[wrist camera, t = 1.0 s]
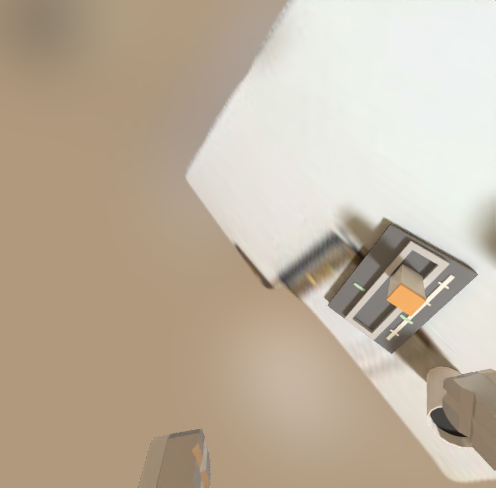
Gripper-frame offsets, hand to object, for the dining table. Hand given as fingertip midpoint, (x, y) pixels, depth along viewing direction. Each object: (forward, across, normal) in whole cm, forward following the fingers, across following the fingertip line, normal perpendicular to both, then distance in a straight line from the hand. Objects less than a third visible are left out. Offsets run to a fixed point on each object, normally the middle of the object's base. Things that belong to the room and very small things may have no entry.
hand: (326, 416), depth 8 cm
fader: (+31, -26, +12) cm, 42 cm away
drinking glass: (+28, -31, +32) cm, 52 cm away
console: (+34, -25, +16) cm, 45 cm away
